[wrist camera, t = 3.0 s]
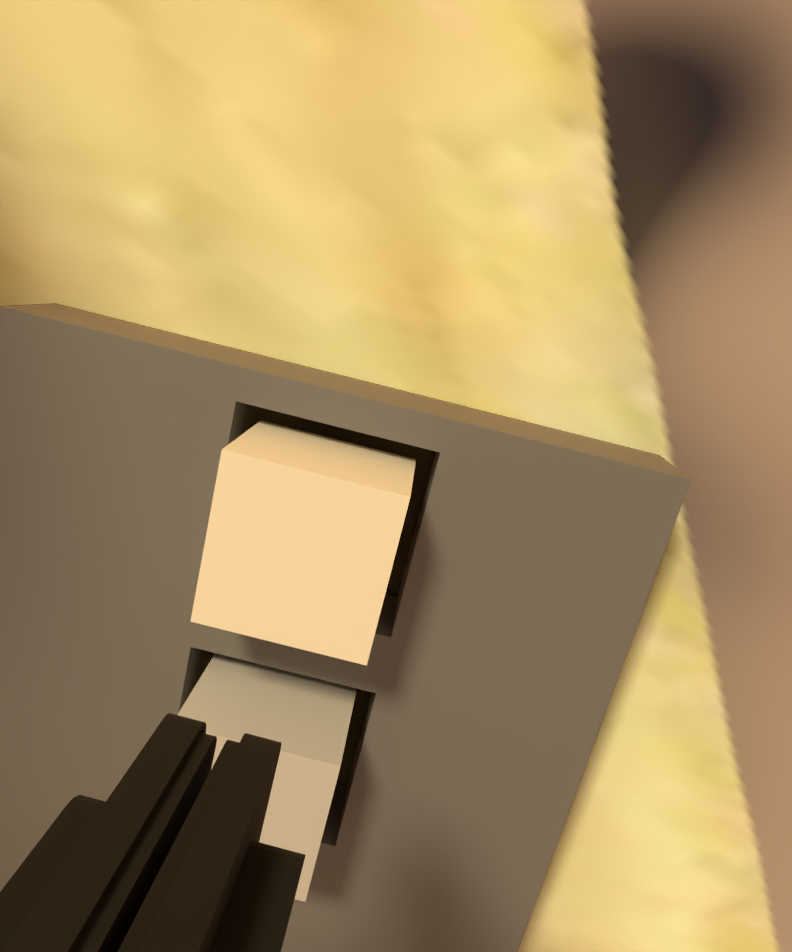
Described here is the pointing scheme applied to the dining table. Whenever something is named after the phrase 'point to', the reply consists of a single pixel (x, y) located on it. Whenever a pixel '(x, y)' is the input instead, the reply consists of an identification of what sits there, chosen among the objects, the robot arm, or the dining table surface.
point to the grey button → (302, 742)
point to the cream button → (302, 540)
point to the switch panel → (386, 675)
